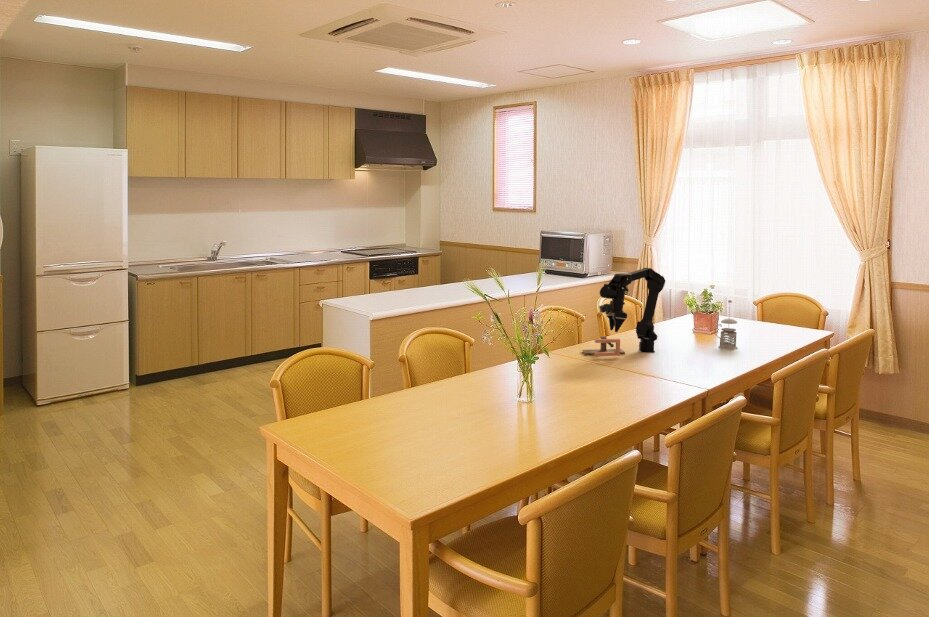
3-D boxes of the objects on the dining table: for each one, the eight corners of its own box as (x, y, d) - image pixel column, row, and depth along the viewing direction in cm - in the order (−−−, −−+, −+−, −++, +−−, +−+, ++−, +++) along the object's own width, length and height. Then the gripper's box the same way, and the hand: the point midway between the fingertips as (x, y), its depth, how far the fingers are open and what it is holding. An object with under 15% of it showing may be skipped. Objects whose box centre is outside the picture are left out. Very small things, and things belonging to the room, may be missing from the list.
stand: (620, 351, 361) (621, 335, 360) (632, 360, 340) (632, 343, 339) (582, 352, 360) (582, 335, 359) (591, 361, 339) (591, 344, 338)
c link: (618, 354, 347) (618, 338, 346) (619, 355, 344) (620, 339, 343) (594, 355, 346) (594, 339, 345) (595, 356, 344) (595, 340, 342)
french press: (739, 350, 360) (742, 301, 356) (716, 349, 362) (718, 301, 358) (735, 345, 369) (738, 298, 365) (712, 345, 371) (714, 298, 367)
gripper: (597, 296, 353) (593, 327, 354) (606, 298, 334) (602, 331, 335) (619, 299, 353) (614, 329, 354) (629, 301, 334) (624, 333, 335)
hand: (613, 331), depth 345 cm, fingers open, 9 cm apart
